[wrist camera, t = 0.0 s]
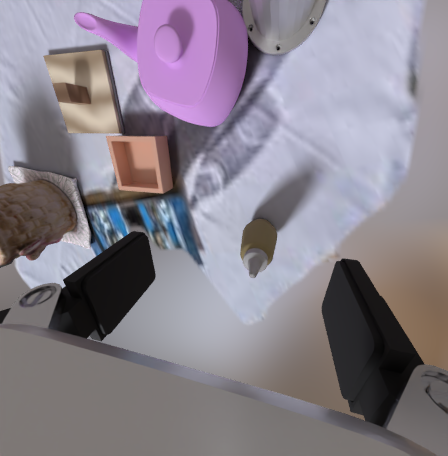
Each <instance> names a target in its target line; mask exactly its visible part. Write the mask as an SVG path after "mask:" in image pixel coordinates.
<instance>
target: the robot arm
mask: <svg viewBox="0 0 448 456" xmlns="http://www.w3.org/2000/svg"><path fill="white" fill-rule="evenodd" d="M325 3H326V0H243V3H242V14H243V20H244V22H245V25H246V28H247V35H248V37H249V39H250V41H251V42H252V43H253V45H254V46H255V47H256V48H257V49H259V50H260V51H262V52H263V53H265V54H269V55H282V54H286V53H288V52H290V51H292V50H294V49H296V48H297V47H298V46H300V45H301V44H302V43H303V42H304V41H305V40H306V39H307V38H308V37H309V36H310V34H311V33H312V32H313V30H314V29H315V27H316V25H317V23H318V21H319V19H320V17H321V14H322V12H323V9H324V6H325ZM311 22H313V25H310V23H311ZM251 28H252V29H253V30H252V31H251V32H250V29H251ZM278 47H279V48H280V50H277V48H278ZM154 279H155V269H154V265H153V260H152V255H151V250H150V245H149V240H148V237H147V236H146V235H145V233H143V232H136V231H133V232H131V233H129V234H128V235H126V236H125V237H124V238H122V239H121V240H119V241H118V242H116V243H115V244H114V245H112V246H111V247H109V248H108V249H106V250H105V251H104V252H102V253H101V254H99V255H98V256H96V257H95V258H93V259H92V260H91V261H89V262H88V263H86V264H85V265H83V266H82V267H81V268H79V269H78V270H76V271H75V272H73V273H72V274H71V275H69V276H68V277H66V278H65V279H63V281H64V283H65V285H66V286H65V287H64V288H63V289H62V287H61V286H60V285H59V284H57V283H48V284H43V285H40V286H37V287H35V288H33V289H30V290H29V291H27V292H25V293H24V294H22V295H21V296H20V297H19V298H18V299H17V300H16V301H15V302H14V304H13V306H12V308H9V309H6V310H3V311H0V456H448V371H446V370H444V369H441V368H438V367H436V366H432V365H425V364H424V363H423V361H422V359H421V358H420V356H419V355H418V353H417V351H416V350H415V348H414V347H413V345H412V343H411V342H410V340H409V338H408V337H407V335H406V334H405V332H404V330H403V329H402V327H401V326H400V324H399V322H398V321H397V319H396V318H395V316H394V314H393V313H392V311H391V310H390V308H389V306H388V305H387V303H386V302H385V300H384V299H383V298H382V296H380V295H379V293H378V292H377V290H376V288H375V287H374V285H373V284H372V282H371V280H370V279H369V277H368V275H367V274H366V272H365V270H364V269H363V267H362V266H361V264H360V262H359V261H357V260H350V259H341V261H337V262H336V264H335V267H334V270H333V273H332V276H331V279H330V282H329V285H328V288H327V291H326V294H325V297H324V301H323V304H322V315H323V319H324V323H325V327H326V331H327V335H328V339H329V344H330V348H331V352H332V356H333V361H334V365H335V369H336V373H337V377H338V381H339V386H340V390H341V394H342V396H343V398H344V399H347V400H348V403H349V407H350V411H351V412H353V413H357V414H361V415H364V418H365V421H364V420H361V419H359V418H356V417H353V416H350V415H347V414H345V413H341V412H338V411H335V410H332V409H328V408H325V407H322V406H319V405H315V404H312V403H309V402H306V401H302V400H299V399H296V398H293V397H289V396H286V395H283V394H279V393H276V392H272V391H268V390H265V389H262V388H258V387H255V386H251V385H248V384H245V383H241V382H238V381H234V380H231V379H227V378H224V377H221V376H217V375H214V374H210V373H207V372H203V371H200V370H196V369H192V368H189V367H186V366H182V365H179V364H175V363H171V362H168V361H165V360H161V359H157V358H154V357H150V356H147V355H143V354H140V353H136V352H132V351H129V350H126V349H122V348H118V347H115V346H111V345H107V344H104V343H100V342H96V341H93V340H90V339H87V338H88V337H89V336H91V338H92V339H95V340H98V341H102V340H103V339H104V338H105V337H106V335H108V334H110V333H111V332H112V331H113V330H114V329H115V328H116V326H117V325H118V324H119V323H120V321H121V320H122V319H123V318H124V317H125V315H126V314H127V313H128V312H129V310H130V309H131V308H132V307H133V306H134V304H135V303H136V302H137V301H138V299H139V298H140V297H141V296H142V295H143V293H144V292H145V291H146V290H147V289H148V287H149V286H150V285H151V284H152V282H153V281H154Z"/></svg>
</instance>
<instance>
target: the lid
mask: <svg viewBox="0 0 448 456" xmlns="http://www.w3.org/2000/svg"><path fill="white" fill-rule="evenodd" d="M44 59H45V62H46V65H47V68H48V71H49V75H50V78H51V81H52V84H53V87H54V90H55V93H56V96H57V99H58V102H59V105H60V108H61V111H62V114H63V118H64V121H65V124H66V127H67V130H68V133H122V131H121V126H120V122H119V117H118V112H117V108H116V103H115V98H114V94H113V89H112V84H111V80H110V75H109V70H108V65H107V61H106V56H105V51H103V50H94V51H84V52H75V53H65V54H56V55H46V56H44Z"/></svg>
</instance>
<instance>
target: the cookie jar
mask: <svg viewBox="0 0 448 456" xmlns="http://www.w3.org/2000/svg"><path fill="white" fill-rule="evenodd" d="M8 169H9V172H10V174H11V176H12V178H13V180H14V182H15V183H9V184H4V185H2V186H0V268H1V267H3V266H6V265H9V264H11V263H12V262H13V260H14V259H15V258H18V257H20V256H26V257H27V258H28V259H29V260H31V261H32V260H35V259H37V258H38V257H39V256H40V254H41V252H42V251H43V250H44V249H45V247H46V246H47V245H50V244H54V243H57V242H59V241H63V242H67V243H72V244H75V245H80V246H82V247H84V248H88V249H91V244H90V242H91V231H90V228H89V225H88V221H87V217H86V214H85V210H84V207H83V203H82V200H81V197H80V193H79V190H78V187H77V179H76V178H74V179H72V178H69V177H65V176H63V175H58V174H54V173H52V172H41V171H36V170H31V169H27V168H23V167H18V166H9V167H8Z"/></svg>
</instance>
